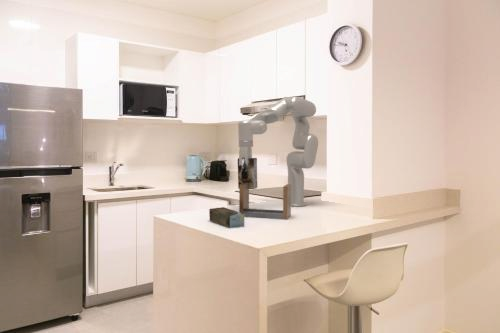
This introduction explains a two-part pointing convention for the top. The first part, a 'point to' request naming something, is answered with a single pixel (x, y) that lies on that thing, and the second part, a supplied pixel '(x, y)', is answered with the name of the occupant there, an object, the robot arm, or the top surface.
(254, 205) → the top surface
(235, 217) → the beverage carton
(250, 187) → the coffee box
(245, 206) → the wooden book rack
